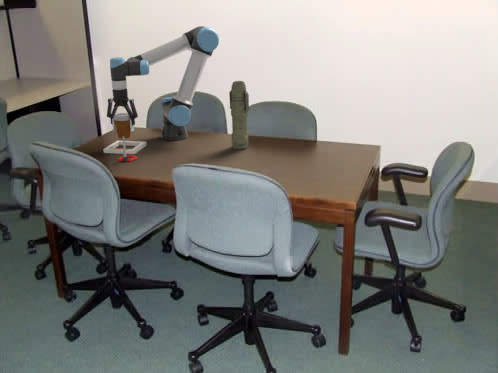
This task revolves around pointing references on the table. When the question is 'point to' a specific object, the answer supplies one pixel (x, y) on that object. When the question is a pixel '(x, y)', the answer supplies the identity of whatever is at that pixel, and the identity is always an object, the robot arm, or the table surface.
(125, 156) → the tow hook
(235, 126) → the olive green statue
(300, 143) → the table surface
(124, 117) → the disposable coffee cup
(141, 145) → the holder frame
